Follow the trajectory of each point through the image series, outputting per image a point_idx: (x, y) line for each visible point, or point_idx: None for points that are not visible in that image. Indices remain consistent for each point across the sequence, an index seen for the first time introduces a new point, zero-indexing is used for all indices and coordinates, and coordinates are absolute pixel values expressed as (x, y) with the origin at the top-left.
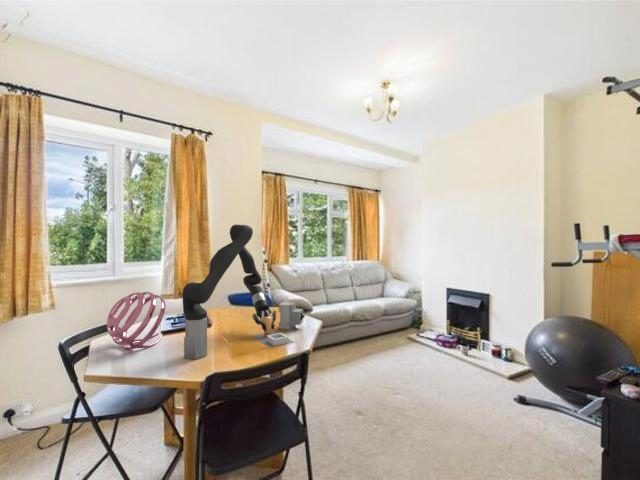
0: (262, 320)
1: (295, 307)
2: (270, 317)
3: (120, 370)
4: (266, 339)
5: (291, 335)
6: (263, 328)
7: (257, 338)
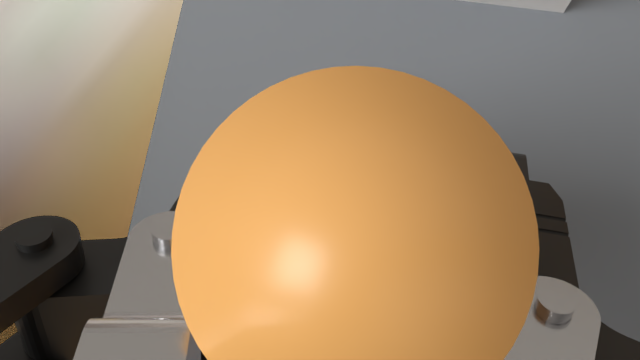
0: (554, 356)
1: None
2: (273, 124)
3: None
4: (513, 108)
5: (12, 88)
6: (554, 199)
7: (622, 279)
